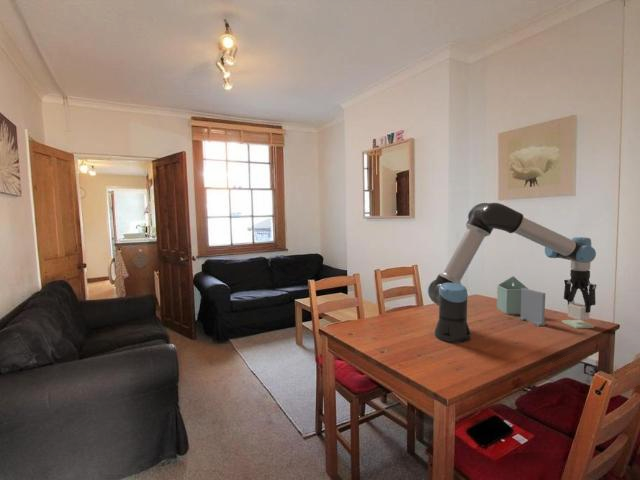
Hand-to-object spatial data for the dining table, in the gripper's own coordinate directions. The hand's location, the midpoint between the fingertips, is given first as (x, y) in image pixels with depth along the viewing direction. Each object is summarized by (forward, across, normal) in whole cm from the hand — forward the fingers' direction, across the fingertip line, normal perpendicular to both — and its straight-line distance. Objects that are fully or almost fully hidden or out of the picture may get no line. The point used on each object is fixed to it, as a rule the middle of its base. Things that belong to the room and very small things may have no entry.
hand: (578, 316), depth 167 cm
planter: (+4, +27, +14) cm, 31 cm away
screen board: (+4, +11, +16) cm, 20 cm away
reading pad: (+4, 0, 0) cm, 4 cm away
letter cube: (0, 0, 0) cm, 0 cm away
